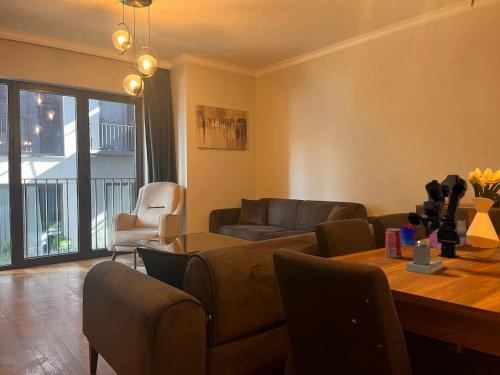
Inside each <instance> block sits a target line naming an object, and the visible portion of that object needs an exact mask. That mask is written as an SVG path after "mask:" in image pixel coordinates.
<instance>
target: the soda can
mask: <svg viewBox="0 0 500 375" xmlns="http://www.w3.org/2000/svg"><path fill="white" fill-rule="evenodd" d="M402 248H403V246H402V233H401V228H386V231H385V256H386V257H387V258H391V259H399V258H401V257H402V253H403V250H402Z"/></svg>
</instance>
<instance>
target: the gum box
mask: <svg viewBox="0 0 500 375" xmlns="http://www.w3.org/2000/svg"><path fill="white" fill-rule="evenodd" d="M457 222H458V225H457V230H458V234H459V237H460V245H456V248H457V247H461V246H467V220H466V219H465V220H457ZM442 223H443V222H442ZM430 224H431V222H430ZM437 231H438V229H437V230H436V231H434V232H433V233H432V234H430V235H429V238H428V239H429V243H428V245H431V248H433V249H440V250H441V243H438V241H437ZM443 241H446V240H443ZM453 242H455V241H453Z"/></svg>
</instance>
